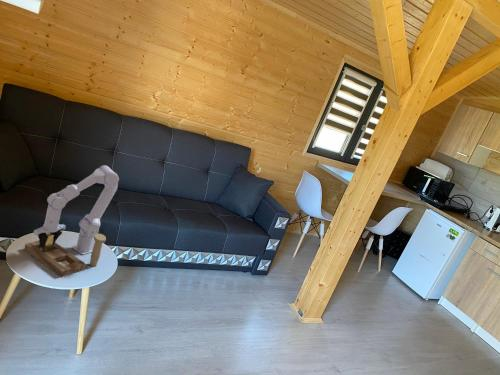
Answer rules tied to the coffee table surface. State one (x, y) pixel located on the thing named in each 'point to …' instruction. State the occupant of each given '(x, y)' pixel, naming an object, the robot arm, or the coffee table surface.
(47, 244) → the peg
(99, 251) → the handle
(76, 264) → the mount block
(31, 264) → the coffee table surface
